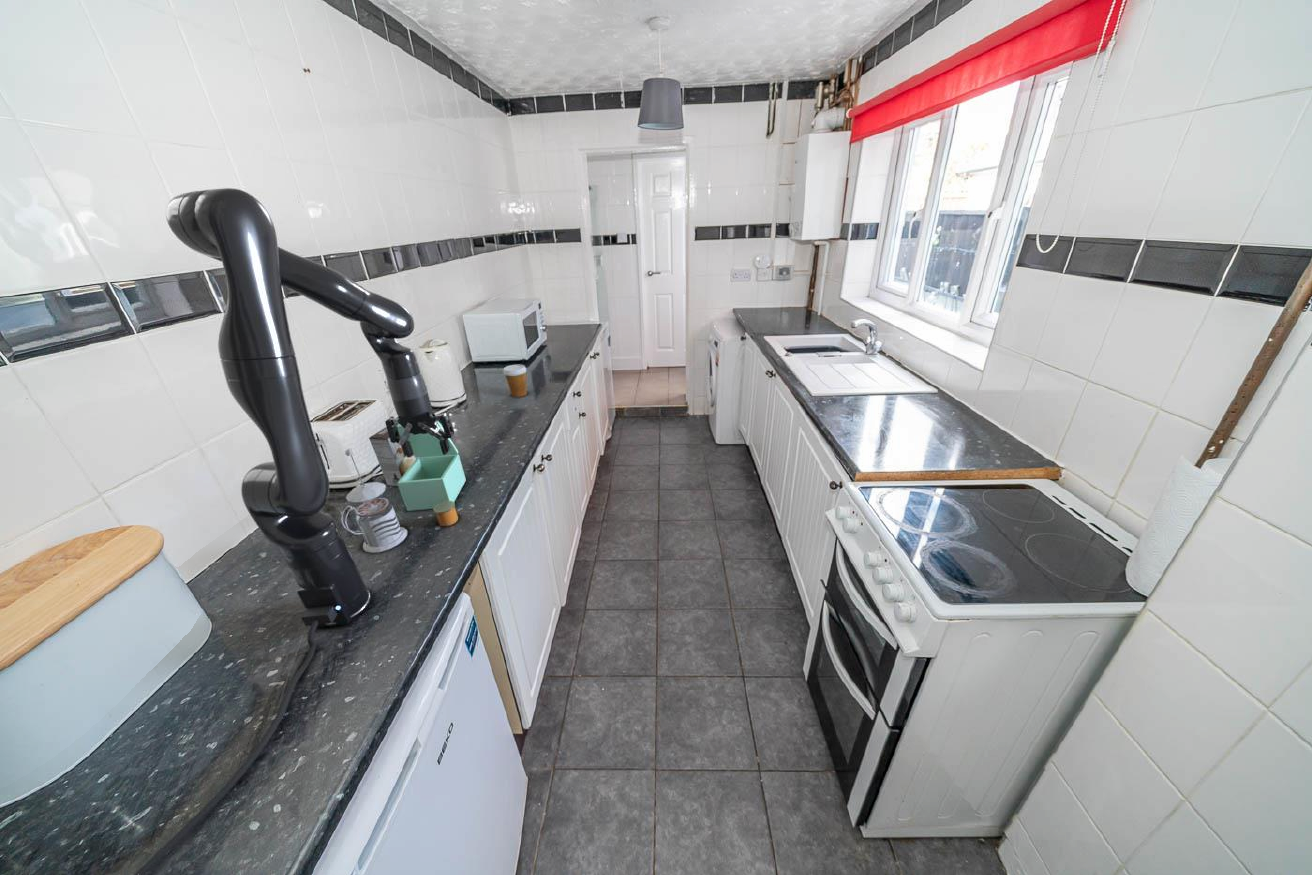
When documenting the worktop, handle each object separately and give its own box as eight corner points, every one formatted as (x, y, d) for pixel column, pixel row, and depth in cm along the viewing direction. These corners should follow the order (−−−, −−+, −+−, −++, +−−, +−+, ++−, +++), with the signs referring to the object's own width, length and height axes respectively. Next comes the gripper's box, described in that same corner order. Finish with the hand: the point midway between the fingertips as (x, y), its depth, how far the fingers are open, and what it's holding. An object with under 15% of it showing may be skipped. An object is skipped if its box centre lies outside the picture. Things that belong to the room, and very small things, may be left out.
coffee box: (407, 469, 141) (391, 423, 134) (425, 471, 140) (410, 424, 132) (386, 485, 133) (368, 437, 126) (405, 487, 132) (387, 438, 124)
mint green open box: (451, 506, 122) (442, 479, 118) (407, 510, 121) (397, 483, 117) (466, 480, 134) (458, 454, 130) (425, 483, 133) (417, 457, 129)
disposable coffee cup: (506, 393, 198) (501, 366, 192) (528, 388, 201) (523, 362, 196) (510, 400, 190) (504, 372, 184) (532, 395, 193) (527, 368, 188)
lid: (438, 423, 117) (441, 406, 121) (392, 427, 117) (397, 410, 120) (458, 453, 129) (461, 437, 132) (416, 457, 129) (420, 441, 132)
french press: (416, 533, 112) (383, 444, 101) (369, 562, 103) (328, 468, 92) (392, 522, 117) (359, 435, 105) (346, 549, 108) (304, 458, 97)
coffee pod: (455, 525, 114) (451, 511, 112) (435, 527, 114) (430, 513, 112) (461, 513, 118) (457, 499, 116) (442, 515, 118) (437, 501, 116)
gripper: (369, 401, 101) (392, 464, 108) (435, 396, 102) (453, 459, 109) (384, 390, 108) (404, 450, 115) (445, 385, 109) (462, 445, 116)
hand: (428, 454), depth 112 cm, fingers open, 8 cm apart
